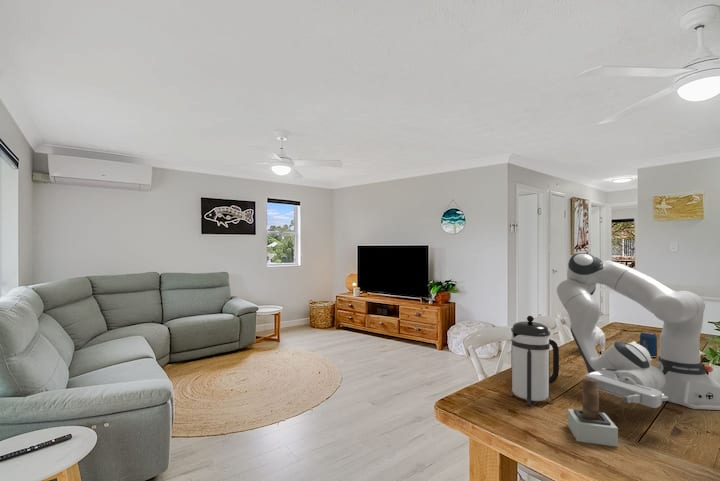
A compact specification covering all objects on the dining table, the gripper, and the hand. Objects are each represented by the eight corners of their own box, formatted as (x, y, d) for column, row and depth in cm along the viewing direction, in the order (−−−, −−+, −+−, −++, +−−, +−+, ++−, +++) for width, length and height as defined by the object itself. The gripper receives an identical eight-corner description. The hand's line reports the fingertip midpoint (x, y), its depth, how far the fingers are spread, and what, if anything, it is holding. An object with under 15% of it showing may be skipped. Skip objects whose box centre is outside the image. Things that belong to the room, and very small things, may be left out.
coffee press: (555, 412, 123) (555, 321, 124) (504, 401, 132) (504, 316, 132) (559, 395, 138) (559, 314, 138) (513, 386, 146) (513, 310, 147)
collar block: (604, 429, 112) (604, 410, 112) (618, 446, 102) (617, 426, 102) (567, 425, 115) (567, 406, 115) (577, 441, 105) (577, 421, 105)
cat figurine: (586, 346, 209) (586, 316, 210) (608, 350, 202) (608, 319, 202) (573, 355, 192) (573, 322, 192) (596, 359, 184) (596, 325, 184)
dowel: (598, 433, 109) (598, 378, 110) (599, 439, 106) (599, 383, 106) (582, 430, 111) (582, 376, 112) (583, 436, 108) (582, 380, 108)
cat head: (648, 378, 158) (648, 349, 158) (612, 370, 167) (612, 343, 168) (656, 371, 167) (656, 343, 168) (622, 364, 177) (622, 338, 178)
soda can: (656, 355, 192) (655, 332, 192) (658, 359, 186) (657, 335, 186) (639, 353, 195) (639, 330, 196) (640, 356, 190) (640, 333, 190)
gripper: (671, 408, 110) (648, 418, 104) (598, 384, 128) (575, 392, 121) (671, 386, 111) (649, 395, 104) (598, 366, 128) (575, 372, 121)
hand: (608, 393), depth 113 cm, fingers open, 8 cm apart
